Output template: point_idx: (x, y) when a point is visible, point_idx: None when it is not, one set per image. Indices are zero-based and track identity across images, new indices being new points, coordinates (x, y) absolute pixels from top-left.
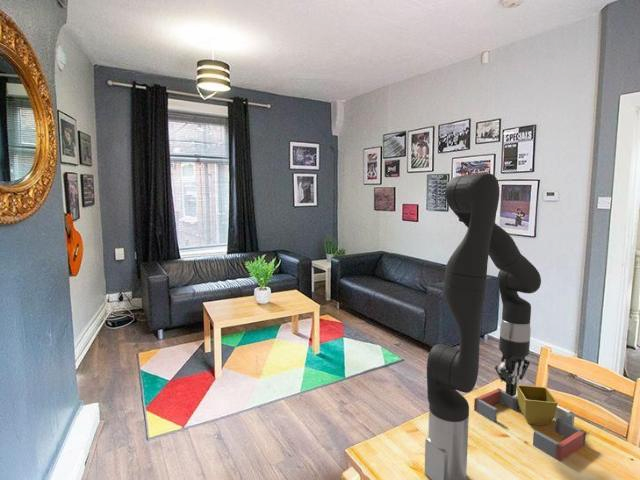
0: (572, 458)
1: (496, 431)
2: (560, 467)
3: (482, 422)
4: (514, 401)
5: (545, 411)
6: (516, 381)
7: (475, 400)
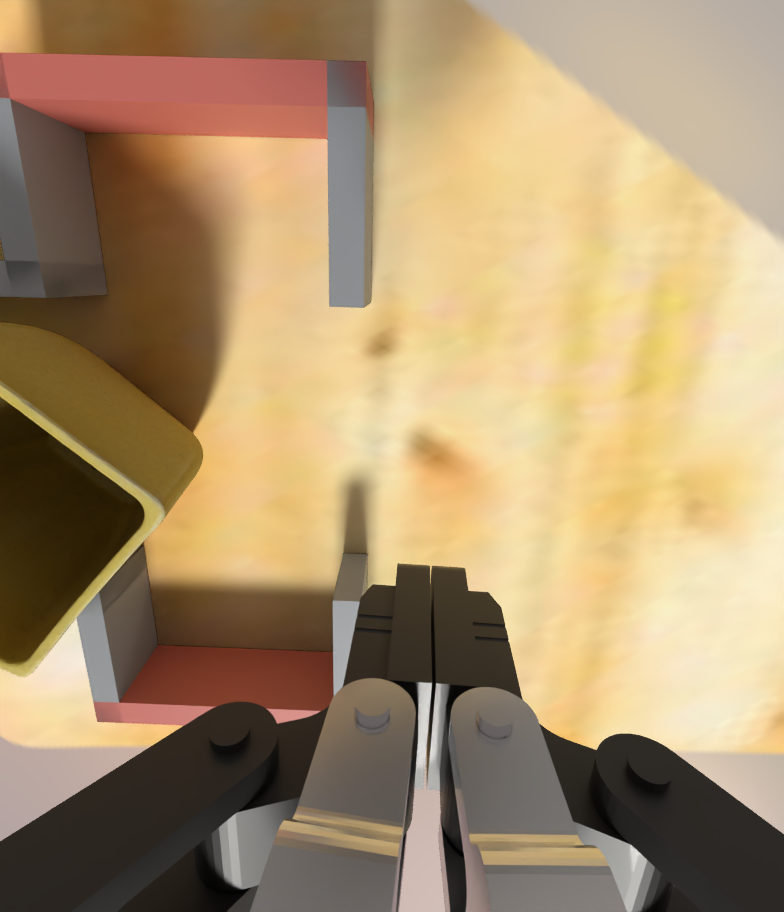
0: None
1: (438, 497)
2: (432, 67)
3: None
4: (114, 592)
5: (68, 374)
6: (410, 715)
7: None
